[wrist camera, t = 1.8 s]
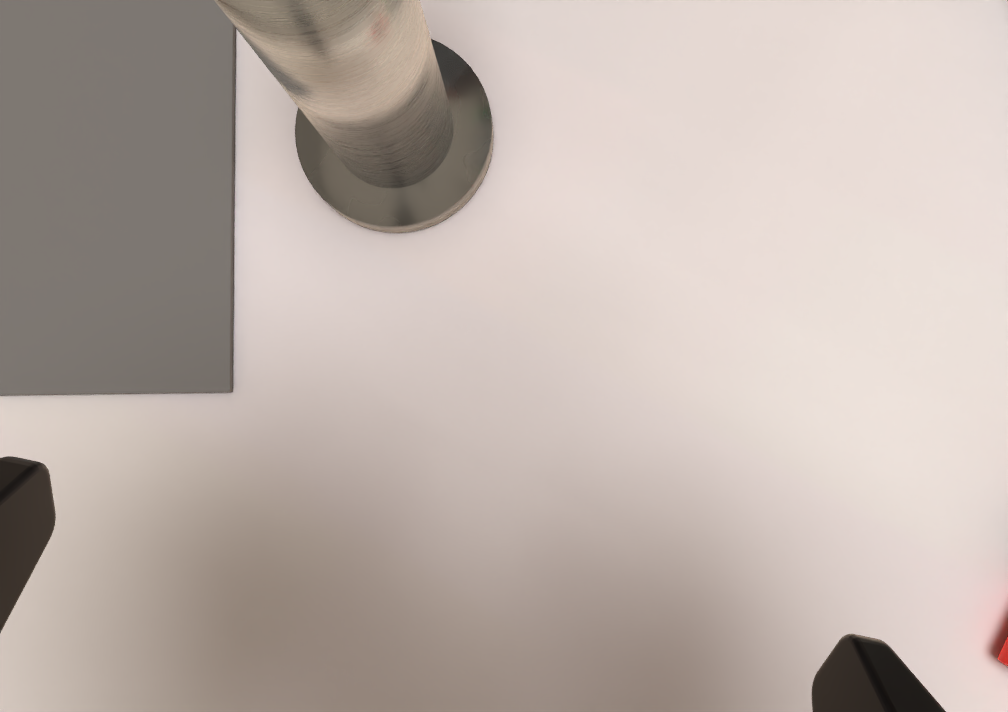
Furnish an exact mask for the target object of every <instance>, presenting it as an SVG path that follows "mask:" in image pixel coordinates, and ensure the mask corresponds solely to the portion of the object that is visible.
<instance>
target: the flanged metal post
mask: <svg viewBox="0 0 1008 712" xmlns="http://www.w3.org/2000/svg"><path fill="white" fill-rule="evenodd" d="M214 1H215V2H216V3H217V4H218V6H219V7H220V8H221V9H222V11H223V12H224V13H225V15H226V16H227V17H228V18H229V20H230V21H231V22H232V23H233V25H234V26H235V27H236V28H237V30H238V31H239V32H240V34H241V35H242V36H243V37H244V39H245V40H246V41H247V42H248V44H249V45H250V46H251V47H252V49H253V50H254V51H255V53H256V54H257V55H258V56H259V58H260V59H261V60H262V61H263V63H264V64H265V65H266V67H267V68H268V69H269V70H270V72H271V73H272V74H273V75H274V77H275V78H276V79H277V80H278V82H279V83H280V84H281V86H282V87H283V88H284V89H285V91H286V92H287V93H288V94H289V96H290V97H291V98H292V99H293V101H294V102H295V103H296V105H297V106H298V111H297V116H296V126H295V137H296V147H297V152H298V157H299V160H300V162H301V165H302V168H303V170H304V172H305V174H306V176H307V178H308V180H309V181H310V183H311V184H312V186H313V187H314V189H315V190H316V191H317V192H318V193H319V195H320V196H321V197H322V198H323V199H324V200H325V201H326V202H327V203H328V204H329V205H330V206H331V207H332V208H333V209H335V210H336V211H337V212H338V213H339V214H340V215H342V216H343V217H345V218H347V219H348V220H350V221H351V222H354V223H356V224H358V225H360V226H362V227H365V228H368V229H372V230H375V231H381V232H389V233H403V232H413V231H417V230H422V229H425V228H428V227H431V226H433V225H436V224H438V223H440V222H442V221H444V220H446V219H447V218H449V217H450V216H452V215H453V214H455V213H456V212H457V211H458V210H460V209H461V208H462V207H463V206H464V205H465V204H466V203H467V202H468V201H469V200H470V198H471V197H472V196H473V195H474V194H475V192H476V191H477V189H478V188H479V186H480V185H481V183H482V181H483V179H484V177H485V175H486V173H487V170H488V167H489V163H490V160H491V155H492V150H493V125H492V118H491V112H490V107H489V103H488V99H487V96H486V94H485V91H484V88H483V87H482V85H481V83H480V81H479V79H478V77H477V76H476V74H475V73H474V72H473V70H472V69H471V67H470V66H469V65H468V64H467V63H466V62H465V61H464V60H463V59H462V58H461V57H460V56H459V55H457V54H456V53H455V52H454V51H452V50H451V49H449V48H448V47H446V46H444V45H443V44H441V43H439V42H437V41H434V40H432V39H431V38H430V35H429V31H428V28H427V24H426V21H425V17H424V14H423V10H422V7H421V3H420V0H214Z"/></svg>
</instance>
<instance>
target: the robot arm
mask: <svg viewBox="0 0 1008 712" xmlns="http://www.w3.org/2000/svg"><path fill="white" fill-rule="evenodd" d="M55 518H56V517H55V507H54V501H53V494H52V487H51V481H50V474H49V470H48V469H47V467H46V466H45V465H44V464H42V463H40V462H36V461H31V460H27V459H22V458H17V457H3V458H0V633H1V631H2V629H3V627H4V625H5V623H6V621H7V619H8V617H9V615H10V614H11V612H12V610H13V608H14V606H15V604H16V602H17V600H18V598H19V596H20V595H21V593H22V591H23V589H24V587H25V585H26V583H27V581H28V579H29V577H30V576H31V574H32V572H33V570H34V568H35V566H36V564H37V562H38V560H39V558H40V557H41V555H42V553H43V551H44V549H45V547H46V545H47V543H48V541H49V539H50V537H51V535H52V532H53V530H54V526H55ZM812 707H813V712H946V711H945V710H944V709H943V708H942V707H941V706H940V704H939V703H938V702H937V701H936V700H935V699H934V697H933V696H932V695H931V694H930V693H929V692H928V690H927V689H926V688H925V687H924V686H923V685H922V683H921V682H920V681H919V680H918V679H917V678H916V677H915V675H914V674H913V673H912V672H911V671H910V670H909V668H908V667H907V666H906V665H905V664H904V663H903V661H902V660H901V659H900V658H899V657H898V656H897V654H896V653H895V652H894V651H893V650H892V649H891V648H890V647H889V646H888V645H887V644H886V643H885V642H883V641H881V640H879V639H875V638H870V637H865V636H861V635H856V634H848V635H846V636H844V637H842V638H841V639H840V641H839V642H838V643H837V645H836V646H835V648H834V649H833V651H832V652H831V653H830V655H829V656H828V658H827V659H826V661H825V662H824V663H823V665H822V666H821V668H820V669H819V671H818V672H817V674H816V676H815V678H814V681H813V685H812Z"/></svg>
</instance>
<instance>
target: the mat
mask: <svg viewBox="0 0 1008 712" xmlns="http://www.w3.org/2000/svg"><path fill="white" fill-rule="evenodd" d="M235 37H236V27H235V26H234V25H233V23H232V22H231V21H230V20H229V18H228V17H227V16H226V15H225V13H224V12H223V11H222V9H221V8H220V7H219V6H218V4H217V3H216V2H215V1H214V0H0V395H67V394H137V393H207V392H232V391H233V273H234V155H235Z"/></svg>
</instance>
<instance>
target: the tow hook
mask: <svg viewBox="0 0 1008 712" xmlns="http://www.w3.org/2000/svg"><path fill="white" fill-rule="evenodd" d="M997 659H998V660H999V661H1000V662H1001V663H1003V664H1004V665H1006V666H1007V667H1008V637H1007V639H1006V641H1005V643H1004V645H1003V648H1002V650H1001V652H1000V654H999V656H998V658H997Z"/></svg>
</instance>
